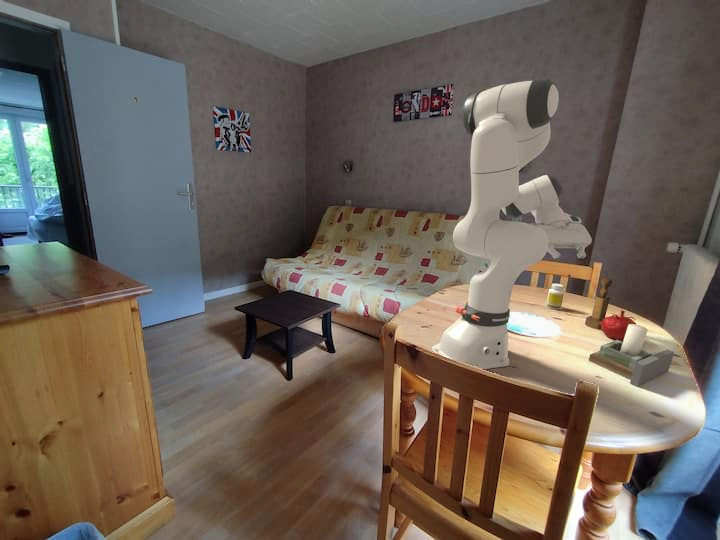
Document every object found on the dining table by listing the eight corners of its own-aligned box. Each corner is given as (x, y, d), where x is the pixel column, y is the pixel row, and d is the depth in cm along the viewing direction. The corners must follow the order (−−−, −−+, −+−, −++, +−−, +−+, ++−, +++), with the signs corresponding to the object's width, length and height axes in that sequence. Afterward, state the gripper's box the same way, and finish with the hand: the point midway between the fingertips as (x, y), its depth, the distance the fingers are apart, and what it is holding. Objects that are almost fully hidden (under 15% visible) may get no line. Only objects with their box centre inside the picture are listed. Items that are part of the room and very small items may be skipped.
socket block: (634, 381, 82) (638, 364, 81) (588, 360, 91) (592, 344, 90) (657, 370, 87) (662, 354, 86) (611, 351, 97) (615, 336, 95)
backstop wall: (637, 386, 80) (643, 365, 78) (629, 383, 81) (635, 362, 79) (668, 371, 86) (674, 352, 85) (660, 368, 88) (666, 349, 86)
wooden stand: (586, 327, 113) (597, 279, 108) (583, 320, 119) (593, 274, 114) (609, 331, 110) (621, 281, 106) (605, 324, 116) (616, 277, 111)
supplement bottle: (563, 310, 128) (567, 287, 126) (548, 309, 129) (552, 286, 127) (557, 305, 134) (562, 283, 131) (543, 304, 135) (547, 282, 132)
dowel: (631, 365, 86) (642, 332, 82) (615, 357, 89) (624, 325, 86) (639, 362, 87) (650, 329, 84) (623, 354, 91) (633, 323, 88)
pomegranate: (597, 338, 106) (602, 312, 103) (599, 328, 113) (604, 303, 111) (636, 347, 100) (643, 319, 97) (636, 336, 107) (642, 310, 105)
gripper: (531, 217, 105) (548, 252, 98) (584, 218, 109) (604, 251, 102) (520, 229, 110) (535, 263, 103) (571, 229, 114) (589, 262, 107)
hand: (570, 257), depth 103 cm, fingers open, 8 cm apart
